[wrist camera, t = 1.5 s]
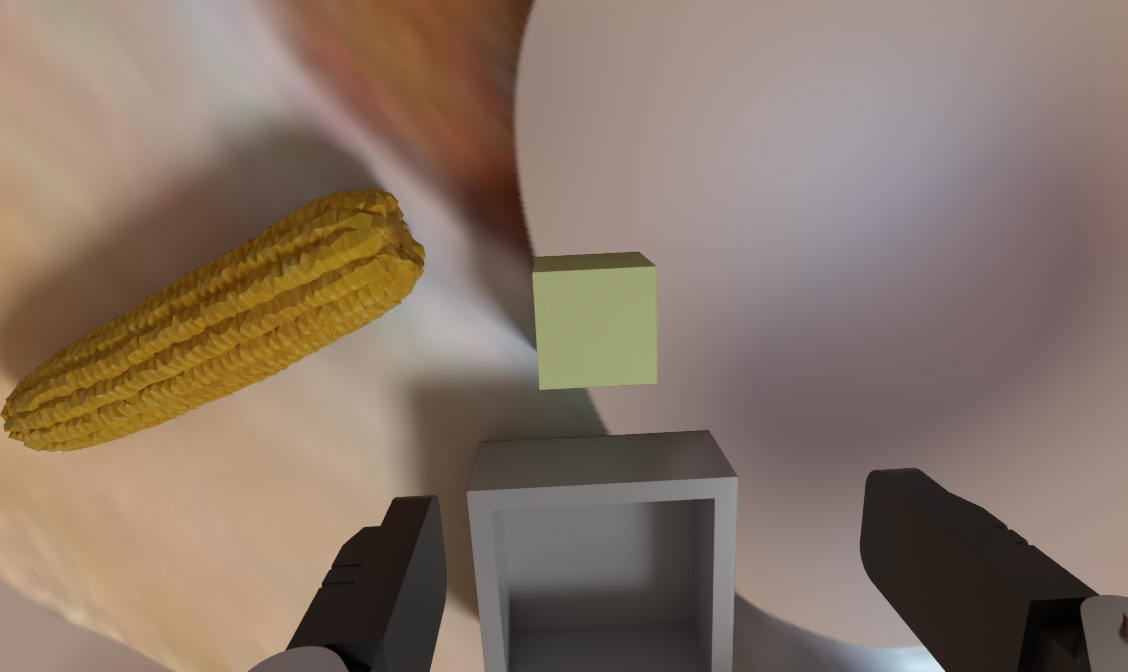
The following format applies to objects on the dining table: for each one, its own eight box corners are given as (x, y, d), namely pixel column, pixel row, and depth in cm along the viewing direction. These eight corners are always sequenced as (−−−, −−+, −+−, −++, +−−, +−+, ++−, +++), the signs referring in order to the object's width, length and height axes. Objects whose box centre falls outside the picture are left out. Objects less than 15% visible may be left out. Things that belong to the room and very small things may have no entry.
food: (388, 168, 27) (345, 165, 22) (451, 274, 29) (426, 297, 23) (33, 373, 30) (-92, 420, 24) (106, 463, 31) (5, 528, 25)
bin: (708, 430, 31) (737, 476, 26) (705, 622, 34) (731, 695, 29) (480, 442, 31) (466, 491, 26) (497, 633, 34) (488, 709, 29)
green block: (638, 251, 28) (656, 266, 24) (640, 350, 30) (657, 383, 25) (535, 257, 28) (532, 272, 24) (541, 355, 30) (539, 389, 25)
